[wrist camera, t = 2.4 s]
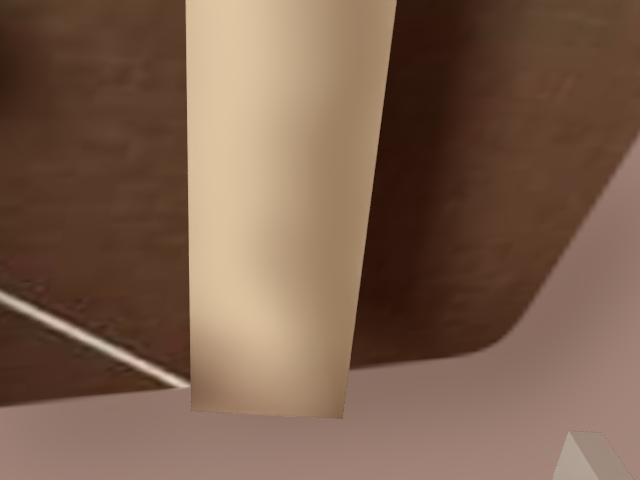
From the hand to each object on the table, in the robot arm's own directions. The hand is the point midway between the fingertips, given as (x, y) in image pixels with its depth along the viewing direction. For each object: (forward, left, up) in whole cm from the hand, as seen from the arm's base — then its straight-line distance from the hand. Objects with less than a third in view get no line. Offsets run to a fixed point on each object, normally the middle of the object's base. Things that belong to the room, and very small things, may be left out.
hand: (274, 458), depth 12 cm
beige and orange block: (0, +9, -15) cm, 17 cm away
